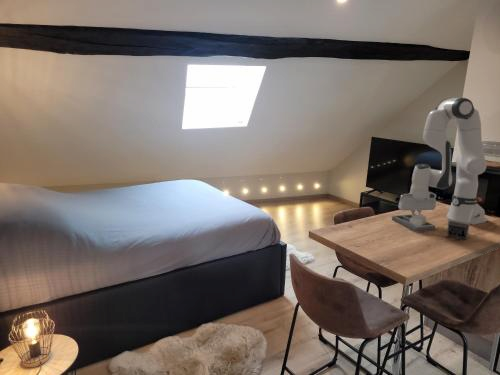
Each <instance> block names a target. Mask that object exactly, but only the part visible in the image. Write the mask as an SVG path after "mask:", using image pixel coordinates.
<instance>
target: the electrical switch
mask: <svg viewBox="0 0 500 375" xmlns="http://www.w3.org/2000/svg"><path fill="white" fill-rule="evenodd" d="M470 225H471V224H469V223H466V222H461V221H455V220H450V219H449V220H448V222H447V228H446V234H445V235H446V236H447V238H451V239H454V240H455V239H456V240H461V241H466V240H467V239H468V233H469V231H470V230H469V229H470Z"/></svg>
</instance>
